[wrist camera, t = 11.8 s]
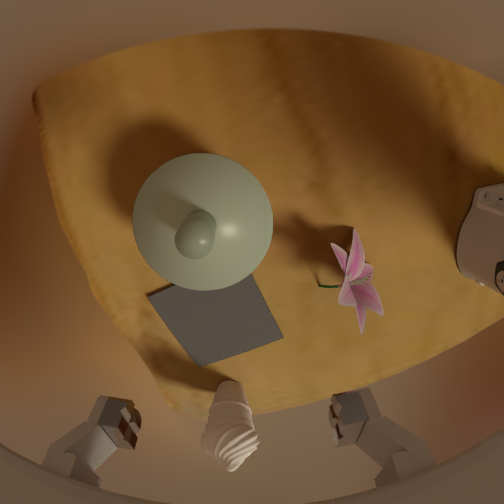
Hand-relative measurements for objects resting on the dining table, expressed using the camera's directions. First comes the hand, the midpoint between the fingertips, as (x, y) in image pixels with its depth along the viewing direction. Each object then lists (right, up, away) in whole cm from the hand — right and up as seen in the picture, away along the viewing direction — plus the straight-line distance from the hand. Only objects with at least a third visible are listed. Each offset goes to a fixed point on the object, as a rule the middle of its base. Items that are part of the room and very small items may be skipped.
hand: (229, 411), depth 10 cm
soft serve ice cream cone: (-3, -16, +33) cm, 37 cm away
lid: (-4, +9, +16) cm, 18 cm away
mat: (-4, -3, +28) cm, 28 cm away
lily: (+13, +4, +26) cm, 30 cm away
